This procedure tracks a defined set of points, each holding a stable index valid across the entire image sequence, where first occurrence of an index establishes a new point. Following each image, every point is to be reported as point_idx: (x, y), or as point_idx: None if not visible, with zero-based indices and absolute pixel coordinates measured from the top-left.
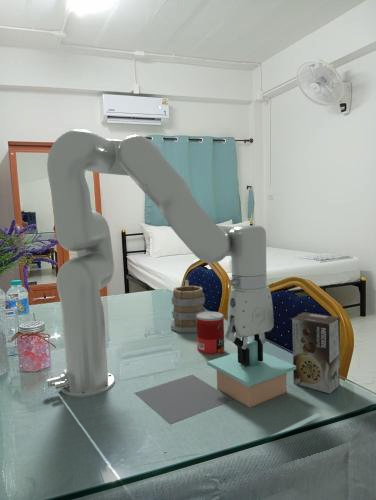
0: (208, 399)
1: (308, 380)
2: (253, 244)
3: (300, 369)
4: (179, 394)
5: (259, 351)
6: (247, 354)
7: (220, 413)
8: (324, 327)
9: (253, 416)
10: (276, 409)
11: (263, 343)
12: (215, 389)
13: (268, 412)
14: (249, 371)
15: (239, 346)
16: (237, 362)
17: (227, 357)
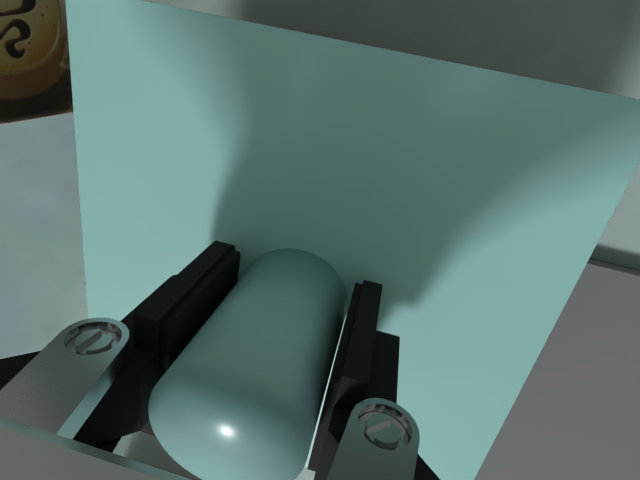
0: (552, 330)
1: (50, 4)
2: None
3: (20, 59)
4: (584, 448)
5: (201, 298)
6: (370, 342)
7: (622, 220)
8: None
9: (554, 62)
10: (401, 5)
11: (109, 321)
12: None
13: (461, 21)
14: (425, 233)
15: (423, 473)
16: None
17: None
